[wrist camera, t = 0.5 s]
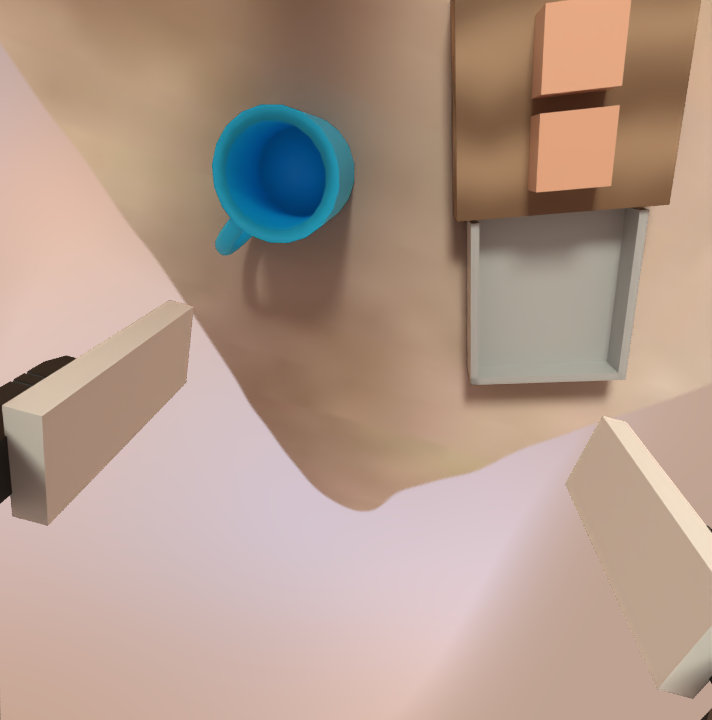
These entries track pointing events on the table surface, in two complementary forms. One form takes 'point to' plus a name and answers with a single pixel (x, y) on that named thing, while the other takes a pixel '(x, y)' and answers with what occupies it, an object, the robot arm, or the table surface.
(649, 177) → the brown square slab
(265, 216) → the mug
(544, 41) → the tile
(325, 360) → the table surface
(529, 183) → the tile
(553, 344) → the tray
